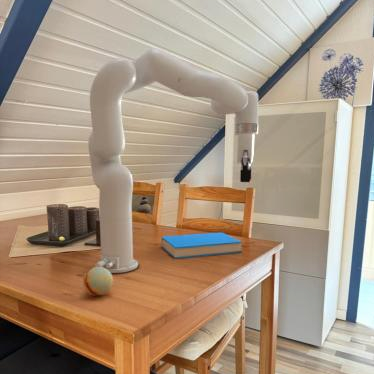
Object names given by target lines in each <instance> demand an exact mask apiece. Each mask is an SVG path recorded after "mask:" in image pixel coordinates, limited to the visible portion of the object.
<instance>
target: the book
mask: <svg viewBox="0 0 374 374" xmlns="http://www.w3.org/2000/svg"><path fill="white" fill-rule="evenodd" d="M242 243H243V241H241V240H240V239H237V238H235V237H232V236H231V235H228V234H226V233H224V232H209V233H195V234H183V235H169V236H168V235H167V236H162V237H161V248H162V249H163V250H165V251H166V252H167V253H168V254H169V255H170V256H171V257H173V258H174V259H176V260H178V259H187V258H199V257H208V256H217V255H218V256H219V255H227V254H239V253H242Z"/></svg>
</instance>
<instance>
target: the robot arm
mask: <svg viewBox="0 0 374 374" xmlns="http://www.w3.org/2000/svg"><path fill="white" fill-rule="evenodd" d="M154 83H158V84H160V85H162V86H164V87H166V88H169V89H170V90H172V91H174V92H176V93H178V94H179V95H182V96H185V97H189V98H204V99H209V100H210V107H211V110H213V112H214V113H216V114H218V115H221V116H226V115H233V114H234V115H235V119H234V120H235V121H234V122H235V123H234V124H235V125H234V126H235V127H234V129H235V130H234V135H235V136H237V157H236V159H237V160H236V163H237V164H238V165H240V171H239V172H240V175H239V176H240V177H239V178H240V180H239V181H240V183H251V180H252V166H251V165H252V163H253V160H254V151H255V136H256V135H258V134H259V94H258V92H256V91H254V90H246V89H245V88H244V87H242V86H241V85H240V84H238V83H236V82H235V81H233V80H232V79H229V78H227V77H225V76H222V75H220V74H217V73H213V72H209V71H206V70H202V69H199V68H196V67H194V66H191V65H190V64H188V63H186V62H184V61H183V60H181V59H179V58H177V57H175V56H173V55H172V54H170V53H168V52H166V51H164V50H163V49H160V48H157V47H154V48H149V49H147V50H146V51H145V52H144V53H143V54H141V55H140V56H139V57H137V58H135V59H133V60H130V59H128V58H127V57H116V58H113V59H111V60H109V61H108V62H106V63H105V64H104V65H102V67H101V68H100V69H99V70H98V72H97V73H96V75H95V76H94V79H93V81H92V84H91V88H90V92H89V108H90V119H91V126H92V127H91V128H92V132H91V133H90V134H89V137H88V143H87V145H88V154H89V162H90V167H91V175H92V179H93V180H92V181H93V182H94V185H95V186H96V187H97V189H99V199H98V214H99V219H100V239H101V246H100V261H98V262H96V263H95V264H94V267H103V268H106V269H107V270H108V271H109V272H110V273H111V274H121V273H122V274H123V273H128V272H132V271H134V270H136V269H137V268H138V267H139V262H138V260H136V259H134V244H133V243H134V241H133V191H134V179H133V175H132V172H131V171H130V169H129V168H128V167H127V166H126V165H123V164H122V159H121V155H122V154H123V153H124V151H125V148H126V137H125V129H124V124H123V116H122V114H123V113H122V100H123V96H124V95H126V94H129V93H133V92H134V91H138V90H140V89H143V88H145V87H148V86H151V85H152V84H154Z"/></svg>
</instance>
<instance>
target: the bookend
mask: <svg viewBox="0 0 374 374" xmlns="http://www.w3.org/2000/svg"><path fill="white" fill-rule="evenodd" d="M94 222H95V238H93V239H90V240H88V241H86V242H84V245H85V246H92V247H93V246H95V247H101V239H100V218H97V219H95V221H94Z"/></svg>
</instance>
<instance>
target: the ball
mask: <svg viewBox="0 0 374 374" xmlns="http://www.w3.org/2000/svg"><path fill="white" fill-rule="evenodd" d="M82 282H83V283H82V284H83V288H84V290H85V291H86V292H87V293H88V294H89V295H91V296H95V297H100V296H104V295H106V294H108V293H109V291H111V288H112V287H113V283H114V277H113V275H112V273H110V272H109V271H108V270H107V269H106V268H103V267H95V266H94V267H91V268H90V269H89V270H88V271H86V273H85V274H84V276H83V280H82Z"/></svg>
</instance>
